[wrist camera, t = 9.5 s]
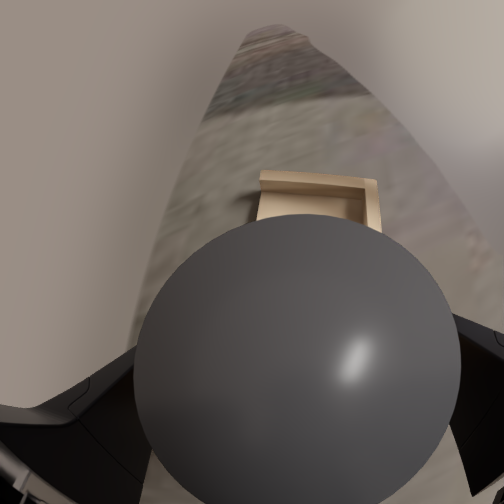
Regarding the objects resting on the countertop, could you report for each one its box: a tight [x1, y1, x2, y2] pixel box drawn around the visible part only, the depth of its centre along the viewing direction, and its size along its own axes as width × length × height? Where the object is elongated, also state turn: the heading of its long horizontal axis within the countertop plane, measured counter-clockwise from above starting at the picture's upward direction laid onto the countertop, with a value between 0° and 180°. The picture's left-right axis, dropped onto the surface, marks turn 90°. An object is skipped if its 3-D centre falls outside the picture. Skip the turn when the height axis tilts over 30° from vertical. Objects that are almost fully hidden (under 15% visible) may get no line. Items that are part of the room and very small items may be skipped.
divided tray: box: [256, 170, 382, 233], centre depth 17 cm, size 19×9×3 cm, turn 171°
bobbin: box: [133, 214, 461, 504], centre depth 10 cm, size 6×6×13 cm
